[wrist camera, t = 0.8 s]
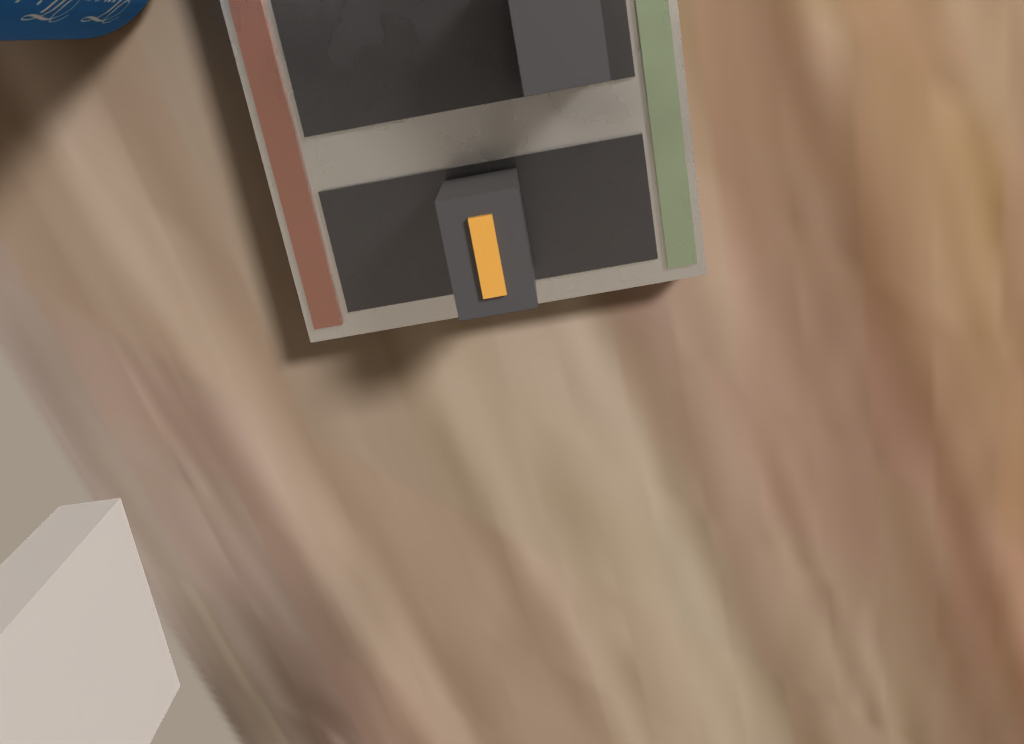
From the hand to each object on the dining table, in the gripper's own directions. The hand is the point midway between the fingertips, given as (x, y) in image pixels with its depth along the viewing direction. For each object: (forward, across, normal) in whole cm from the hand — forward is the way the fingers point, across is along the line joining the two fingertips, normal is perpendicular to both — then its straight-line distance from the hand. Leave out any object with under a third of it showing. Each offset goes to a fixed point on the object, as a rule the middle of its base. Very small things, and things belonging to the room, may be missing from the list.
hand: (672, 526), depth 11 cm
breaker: (+20, 0, +6) cm, 21 cm away
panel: (+23, -3, +6) cm, 24 cm away
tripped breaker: (+21, -3, 0) cm, 21 cm away
